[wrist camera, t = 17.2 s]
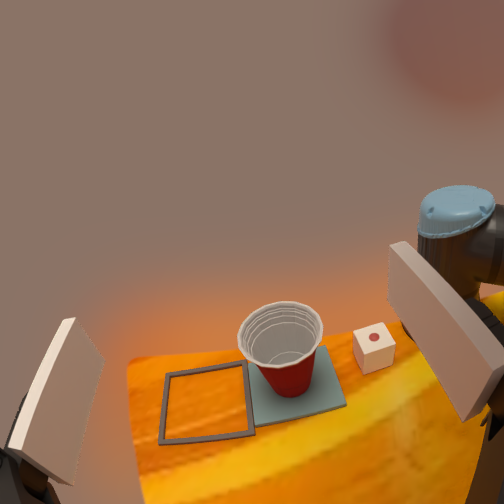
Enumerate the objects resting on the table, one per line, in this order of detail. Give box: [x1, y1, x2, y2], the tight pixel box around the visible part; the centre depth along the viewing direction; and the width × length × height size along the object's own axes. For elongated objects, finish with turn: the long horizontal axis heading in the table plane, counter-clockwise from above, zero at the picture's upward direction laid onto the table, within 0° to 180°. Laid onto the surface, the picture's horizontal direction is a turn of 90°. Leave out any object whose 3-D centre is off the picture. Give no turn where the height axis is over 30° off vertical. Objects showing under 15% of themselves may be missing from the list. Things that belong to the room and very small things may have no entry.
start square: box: [158, 359, 255, 445], centre depth 44 cm, size 15×15×1 cm
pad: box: [248, 345, 346, 427], centre depth 43 cm, size 13×12×1 cm
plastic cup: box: [237, 301, 323, 398], centre depth 40 cm, size 11×11×12 cm
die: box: [353, 322, 396, 375], centre depth 43 cm, size 5×5×5 cm
